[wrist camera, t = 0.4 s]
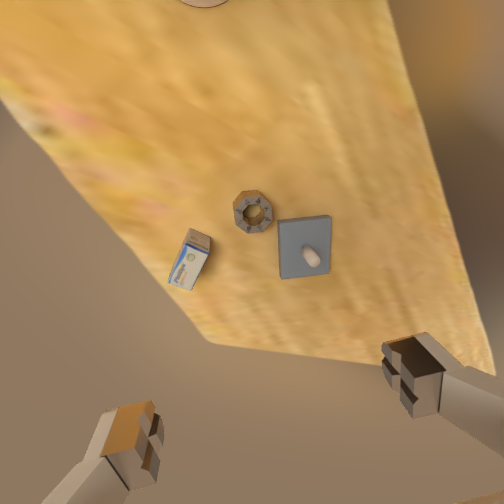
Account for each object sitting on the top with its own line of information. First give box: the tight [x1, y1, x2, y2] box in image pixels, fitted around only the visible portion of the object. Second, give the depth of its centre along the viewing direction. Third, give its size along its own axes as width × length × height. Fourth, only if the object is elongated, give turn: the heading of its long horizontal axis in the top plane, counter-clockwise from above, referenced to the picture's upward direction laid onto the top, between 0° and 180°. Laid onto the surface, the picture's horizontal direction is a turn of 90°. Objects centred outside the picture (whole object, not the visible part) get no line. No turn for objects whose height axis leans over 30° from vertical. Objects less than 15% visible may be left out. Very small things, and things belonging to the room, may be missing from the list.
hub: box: [233, 190, 272, 234], centre depth 50 cm, size 6×6×5 cm
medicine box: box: [168, 228, 210, 291], centre depth 51 cm, size 8×4×9 cm, turn 153°
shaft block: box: [277, 215, 331, 279], centre depth 54 cm, size 12×10×8 cm
